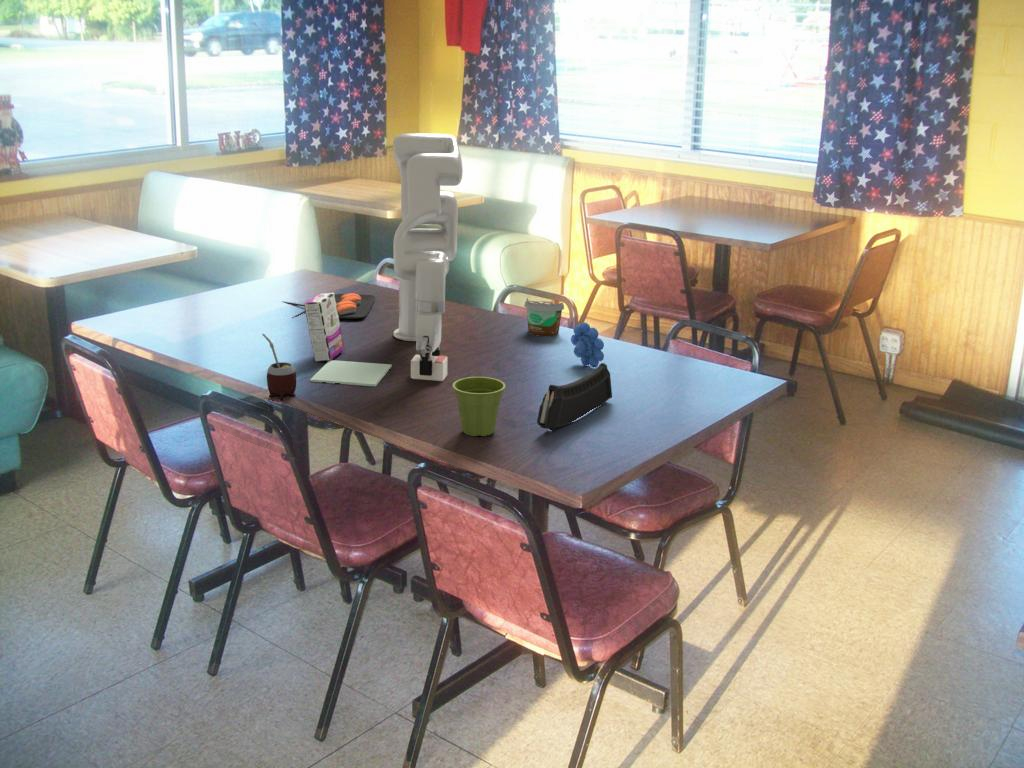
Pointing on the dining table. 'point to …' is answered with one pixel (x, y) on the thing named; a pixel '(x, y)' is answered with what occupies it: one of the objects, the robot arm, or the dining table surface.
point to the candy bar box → (324, 326)
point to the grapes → (587, 344)
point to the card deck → (437, 368)
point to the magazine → (574, 398)
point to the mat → (351, 373)
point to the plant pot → (478, 404)
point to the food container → (543, 317)
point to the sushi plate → (350, 305)
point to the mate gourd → (280, 377)
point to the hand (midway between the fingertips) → (429, 369)
